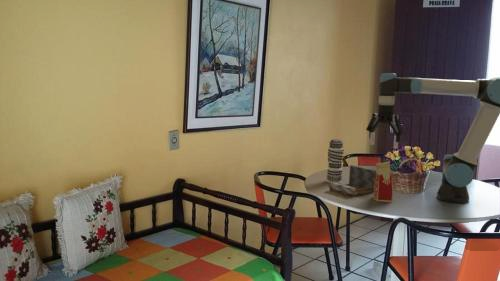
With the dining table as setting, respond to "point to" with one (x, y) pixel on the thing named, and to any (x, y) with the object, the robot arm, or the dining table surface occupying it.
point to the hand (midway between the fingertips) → (383, 146)
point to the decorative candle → (335, 161)
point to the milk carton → (383, 183)
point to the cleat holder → (356, 182)
